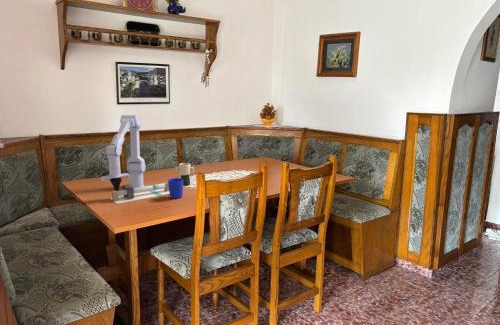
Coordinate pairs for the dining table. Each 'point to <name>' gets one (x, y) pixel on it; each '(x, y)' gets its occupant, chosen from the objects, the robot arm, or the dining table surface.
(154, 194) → the linear rail slide
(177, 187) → the mug
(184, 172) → the character mug
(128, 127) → the robot arm
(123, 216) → the dining table surface
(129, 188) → the collar
